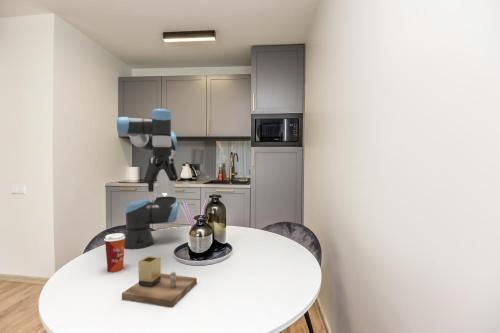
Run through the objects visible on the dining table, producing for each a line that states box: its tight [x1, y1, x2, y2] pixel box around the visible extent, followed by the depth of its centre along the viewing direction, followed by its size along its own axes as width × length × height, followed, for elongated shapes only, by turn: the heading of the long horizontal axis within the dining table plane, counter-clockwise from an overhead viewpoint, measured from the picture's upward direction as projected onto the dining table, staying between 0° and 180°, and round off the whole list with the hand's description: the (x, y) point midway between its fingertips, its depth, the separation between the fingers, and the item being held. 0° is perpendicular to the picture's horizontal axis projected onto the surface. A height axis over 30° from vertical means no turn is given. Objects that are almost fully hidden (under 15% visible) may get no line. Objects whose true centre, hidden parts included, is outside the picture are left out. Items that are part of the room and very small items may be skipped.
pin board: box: [121, 271, 198, 308], centre depth 88 cm, size 16×18×7 cm
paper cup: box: [103, 232, 125, 273], centre depth 107 cm, size 8×8×14 cm
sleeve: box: [137, 255, 162, 287], centre depth 89 cm, size 5×5×8 cm
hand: (162, 197), depth 110 cm, fingers open, 13 cm apart
